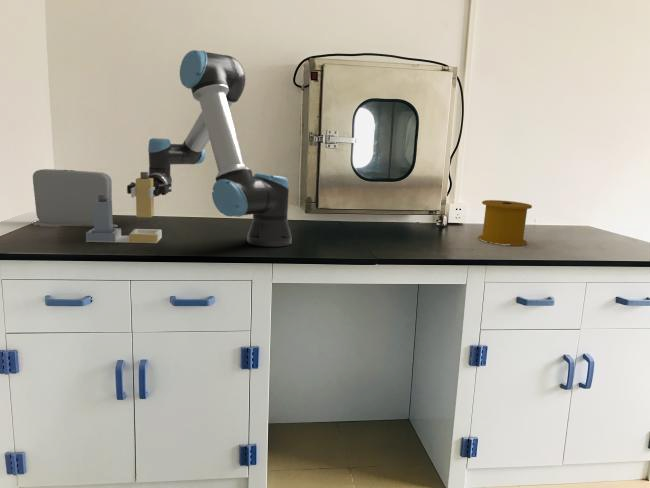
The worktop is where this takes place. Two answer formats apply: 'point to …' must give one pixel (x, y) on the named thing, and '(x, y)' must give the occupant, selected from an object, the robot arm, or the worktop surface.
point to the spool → (504, 222)
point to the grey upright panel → (68, 196)
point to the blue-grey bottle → (103, 215)
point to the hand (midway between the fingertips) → (141, 193)
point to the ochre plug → (144, 196)
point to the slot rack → (133, 237)
